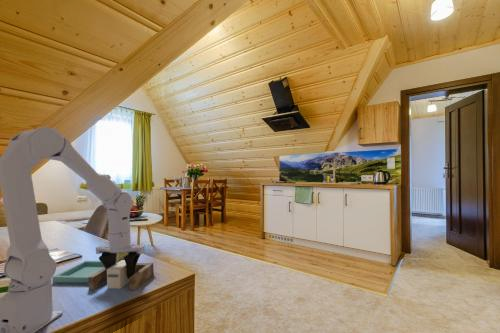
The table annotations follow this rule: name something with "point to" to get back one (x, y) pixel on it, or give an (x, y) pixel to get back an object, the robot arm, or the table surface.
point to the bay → (139, 277)
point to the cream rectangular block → (117, 275)
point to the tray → (79, 273)
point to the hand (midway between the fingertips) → (121, 277)
